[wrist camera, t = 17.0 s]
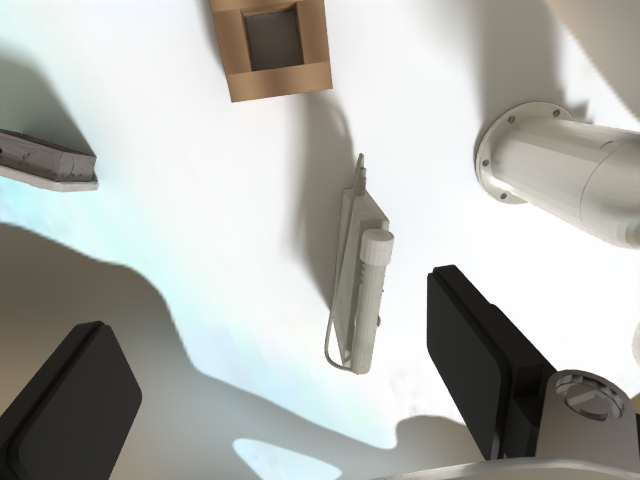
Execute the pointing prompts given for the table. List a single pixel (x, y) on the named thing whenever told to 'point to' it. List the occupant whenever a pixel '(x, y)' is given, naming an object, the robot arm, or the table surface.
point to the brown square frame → (247, 84)
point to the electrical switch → (45, 164)
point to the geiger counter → (359, 275)
